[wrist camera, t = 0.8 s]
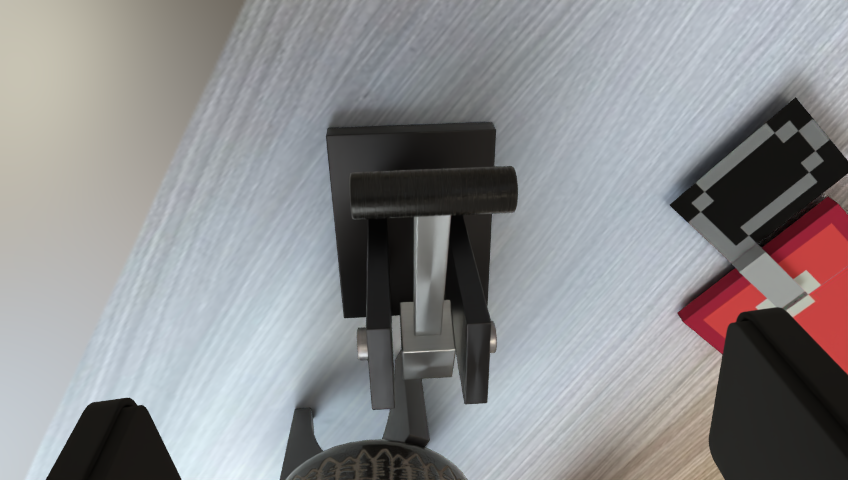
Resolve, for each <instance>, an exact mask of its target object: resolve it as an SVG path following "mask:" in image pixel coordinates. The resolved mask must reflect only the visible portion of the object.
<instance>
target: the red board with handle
mask: <svg viewBox="0 0 848 480" xmlns="http://www.w3.org/2000/svg"><path fill="white" fill-rule="evenodd" d="M847 174H848V160H847V159H846V158H845V157H844V156H843V154H842V153H841V152H840V151H839V150H838V148H837V147H836V146H835V145H834V143H833V142H832V141H831V140H830V139H829V137H828V136H827V135H826V134H825V132H824V131H823V130H822V129H821V128H820V126H819V125H818V124H817V123H816V121H815V120H814V119H813V118H812V117H811V115H810V114H809V113H808V112H807V111H806V109H805V108H804V107H803V106H802V104H801V103H800V102H799V101H798V100H797V98H796V97H795V98H794V99H793V100H792V101H791V102H789V103H788V104H787V105H786V106H785V107H784V108H782V109H781V110H780V111H779V112H778V113H777V114H775V115H774V116H773V117H772V118H771V119H770V120H768V121H767V122H766V123H765V124H764V125H763V126H761V127H760V128H759V129H758V130H757V131H756V132H754V133H753V134H752V135H751V136H750V137H748V138H747V139H746V140H745V141H744V142H743V143H741V144H740V145H739V146H738V147H737V148H736V149H734V150H733V151H732V152H731V153H730V154H729V155H727V156H726V157H725V158H724V159H723V160H722V161H720V162H719V163H718V164H717V165H716V166H715V167H713V168H712V169H711V170H710V171H709V172H708V173H706V174H705V175H704V176H703V177H702V178H700V179H699V180H698V181H697V182H696V183H695V184H693V185H692V186H691V187H690V188H689V189H688V190H686V191H685V192H684V193H683V194H682V195H681V196H679V197H678V198H677V199H676V200H675V201H674V202H672V203H671V204H670V206H671V207H672V208H673V209H674V210H675V211H676V212H677V213H678V214H679V215H681V216H682V217H683V218H684V219H685V220H686V221H687V222H688V223H689V224H690V225H691V226H692V227H693V228H694V229H695V230H696V231H698V232H699V233H700V234H701V235H702V236H703V237H704V238H705V239H706V240H707V241H708V242H709V243H710V244H711V245H712V246H714V247H715V248H716V249H717V250H718V251H719V252H720V253H721V254H722V255H723V256H724V257H725V258H726V259H727V260H728V261H729V262H731V263H732V264H733V266H734V267H735V269H733V270H732V271H731V272H729V273H728V274H727V275H726V276H724V277H723V278H722V279H720V280H719V281H718V282H717V283H715V284H714V285H713V286H711V287H710V288H709V289H707V290H706V291H705V292H704V293H702V294H701V295H700V296H698V297H697V298H696V299H695V300H693V301H692V302H691V303H689V304H688V305H687V306H685V307H684V308H683V309H682V310H680V311H679V312H678V315H679V316H680V318H681V319H682V321H683V322H684V323H685V324H686V325H688V326H689V327H690V328H691V329H692V330H694V331H695V332H696V333H697V334H698V335H700V336H701V337H702V338H703V339H704V340H706V341H707V342H708V343H709V344H710V345H712V346H713V347H714V348H715V349H717V350H718V351H719V352H720V353H721V354H723V350H724V344H725V338H726V332H727V328H728V325H729V324H730V323H734V322H736V320H737V317H738V315H739V314H740V313H742V312H746V311H753V310H760V309H767V308H774V307H780V308H783V309H784V310H785V311H787V312H788V313H789V314H790V315H791V316H792V317H793V318H794V319H795V320H796V321H797V322H798V323H799V324H800V325H801V327H802V328H803V329H804V330H805V331H806V332H807V333H808V334H809V335H810V336H811V337H812V338H813V339H814V340H815V341H816V342H817V343H818V344H819V345H820V346H821V347H822V348H823V349H824V350H825V351H826V352H827V354H828V355H829V356H830V357H831V358H832V359H833V360H834V361H835V362H836V363H837V364H838V365H839V366H840V367H841V368H842V369H843V370H844V371H845V372H846V373H847V374H848V215H847V213H846V212H845V211H844V210H843V209H842V208H841V207H840V205H839V204H838V203H836V202H835V201H834V200H832V199H831V198H830V197H827V198H825V199H824V200H823V201H821V202H820V203H819V204H818V205H816V206H815V207H814V208H812V209H811V210H810V211H808V212H807V213H806V214H805V215H803V216H802V217H801V218H799V219H798V220H797V221H796V222H794V223H793V224H792V225H790V226H789V227H788V228H786V229H785V230H784V231H783V232H781V233H780V234H779V235H777V236H776V237H775V238H774V239H772V240H771V241H770V242H768V243H767V244H766V245H764V246H763V247H762V248H761V247H760V246H759V245H758V243H759V242H760V241H762V240H763V239H764V238H765V237H767V236H768V235H769V234H771V233H772V232H773V231H774V230H776V229H777V228H778V227H780V226H781V225H782V224H783V223H785V222H786V221H787V220H789V219H790V218H791V217H792V216H794V215H795V214H796V213H798V212H799V211H800V210H801V209H803V208H804V207H805V206H807V205H808V204H809V203H810V202H812V201H813V200H814V199H816V198H817V197H818V196H819V195H821V194H822V193H823V192H825V191H826V190H827V189H828V188H830V187H831V186H832V185H834V184H835V183H836V182H838V181H839V180H840V179H841V178H843V177H844V176H845V175H847Z"/></svg>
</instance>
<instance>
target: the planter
mask: <svg viewBox="0 0 848 480" xmlns="http://www.w3.org/2000/svg"><path fill="white" fill-rule="evenodd" d="M394 388H395V408H394V409H390V412H389V416H388V420H387V424H386V428H385V431H384V434H383V437H382V439H379V440H362V441H356V442H349V443H346V444H342V445H338V446H335V447H332V448H330V449H327V450H325V451H323V450H322V449H321V448H320V446H319V445H318V443H317V441H316V439H315V436H314V424H313V417H312V412H311V408H303V409H295V411H294V415H293V420H292V425H291V429H290V434H289V439H288V443H287V448H286V453H285V458H284V462H283V467H282V472H281V476H280V480H468V479H467V478H466V477H465V475H464V474H463V472H462V471H461V470H460V469H459V468H458V467H457V466H456V465H454V464H453V463H452V462H451V461H450V460H448V459H447V458H445V457H444V456H442V455H441V454H439V453H437V452H435V451H432V450H430V449H428V448H426V447H425V446H426V445H427V443H428V442H429V441H430V438H429V430H428V422H427V415H426V407H425V399H424V391H423V383H422V379H409V380H404V379H403V368H402V350H401V352H400V353H399V355H398V356H397V358H396V360H395V370H394Z"/></svg>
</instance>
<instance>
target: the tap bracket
mask: <svg viewBox="0 0 848 480" xmlns="http://www.w3.org/2000/svg"><path fill="white" fill-rule="evenodd" d="M495 139H496V129H495V127H494V125H493V123H492V122H480V123H452V124H424V125H397V126H369V127H341V128H328V129H327V134H326V140H327V150H328V160H329V170H330V181H331V191H332V201H333V211H334V222H335V232H336V242H337V252H338V262H339V273H340V283H341V293H342V303H343V313H344V318H359V317H366V328H358V329H357V352H358V359H359V360H368V363H369V376H370V389H371V402H372V409H373V410H378V409H394V408H395V388H394V363H393V337H392V316H397V315H400V303H401V302H414V217H405V218H382V219H359V220H354V219H353V218H352V215H351V206H350V173H352V172H375V171H400V170H425V169H451V168H476V167H494V160H495ZM491 222H492V214H473V215H451V222H450V234H449V246H448V257H447V269H446V281H445V293H444V300H450V301H451V310H452V319H453V329H454V338H455V347H456V357H457V363H458V369H459V375H460V380H461V386H462V392H463V398H464V403H465V404H478V403H487V398H488V380H489V361H490V353H495V352H496V348H497V337H496V328H495V324H494V322H493V321H491V319H490V315H489V312H488V308H487V305H488V284H489V263H490V243H491Z"/></svg>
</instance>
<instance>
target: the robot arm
mask: <svg viewBox="0 0 848 480" xmlns="http://www.w3.org/2000/svg"><path fill="white" fill-rule="evenodd" d="M709 447H710V452H711V455H712V457H713V459H714V461H715V463H716V465H717V467H718V469H719V470H720V472H721V474H722V475H723V477H724V479H725V480H848V374H847V373H846V372H845V371H844V370H843V369H842V368H841V367H840V366H839V365H838V364H837V363H836V362H835V361H834V360H833V359H832V358H831V357H830V356H829V355H828V354H827V352H826V351H825V350H824V349H823V348H822V347H821V346H820V345H819V344H818V343H817V342H816V341H815V340H814V339H813V338H812V337H811V336H810V335H809V334H808V333H807V332H806V331H805V330H804V329H803V328H802V327H801V325H800V324H799V323H798V322H797V321H796V320H795V319H794V318H793V317H792V316H791V315H790V314H789V313H788V312H787V311H785V310H784V309H783V308H780V307H774V308H767V309H760V310H753V311H746V312H742V313H740V314H739V315H738V317H737V320H736V322H734V323H730V324H729V325H728V328H727V332H726V338H725V344H724V350H723V356H722V362H721V368H720V374H719V380H718V386H717V392H716V398H715V404H714V410H713V416H712V422H711V428H710V434H709ZM46 480H181V478H180V475H179V473H178V471H177V469H176V467H175V465H174V463H173V461H172V459H171V457H170V455H169V453H168V451H167V449H166V447H165V445H164V443H163V441H162V439H161V436H160V434H159V432H158V430H157V428H156V426H155V424H154V422H153V420H152V418H151V416H150V414H149V412H148V410H147V409H146V407H145V406H143V405H139V406H137V404H136V403H135V402H134V400H132V399H131V398H122V399H115V400H108V401H100V402H93V403H91V404H89V405H88V406H87V407H86V409H85V410H84V411H83V413H82V415H81V417H80V419H79V421H78V422H77V424H76V426H75V428H74V430H73V431H72V433H71V435H70V437H69V439H68V440H67V442H66V444H65V446H64V448H63V450H62V451H61V453H60V455H59V457H58V459H57V460H56V462H55V464H54V466H53V468H52V469H51V471H50V473H49V475H48V477H47V479H46Z"/></svg>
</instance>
